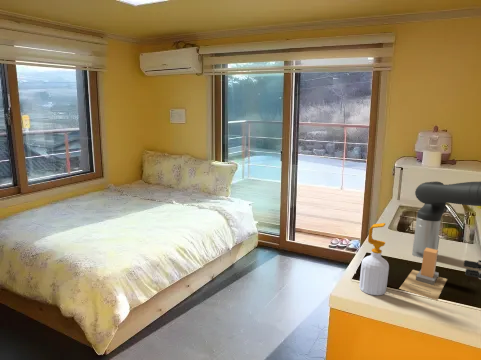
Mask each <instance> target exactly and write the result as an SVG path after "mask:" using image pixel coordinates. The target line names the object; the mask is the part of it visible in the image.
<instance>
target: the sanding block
mask: <svg viewBox="0 0 481 360" xmlns="http://www.w3.org/2000/svg"><path fill="white" fill-rule="evenodd" d="M438 253H439V249H438V250H435V249H431V248H426V249H425V250H424V254H423V258H422V260H421V261H422V263H421V269H420V270H418V271H419V273H418V274H417V276H416V280H417V281H420V282H424V283H427V284H431V285H434V284H435V282H436V280H437V278H438V277H439V272H437V271H436V269H437V268H436V266H437V261H438V260H437V259H438V256H439V255H438Z"/></svg>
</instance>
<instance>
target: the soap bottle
mask: <svg viewBox="0 0 481 360" xmlns="http://www.w3.org/2000/svg"><path fill="white" fill-rule="evenodd" d="M385 226H386V223H385V222H380V223H374V224H372V225H371V226H370V228H369V230H368V238H367V242H368V243H369V244H370V245H373V247H374V248H372V249H371V252H370V255H367V256H365V257H363V258H362V260H361V266H360V276H359V286H358V287H359V290H361V291H362V292H364V293H365V294H368V295H371V296H382V295H385V294H386V293H387V286H388V277H389V272H390V271H389V270H390V265H389V262H388V261H387V260H386V259H385V258H383V257H382V252H383V251H382V249H380V248H381V247H384V246H385V245H386V242H385V241H382V240H377V239H374V238H373V229H376V228H377V229H378V228H384V227H385Z"/></svg>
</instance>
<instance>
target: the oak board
mask: <svg viewBox="0 0 481 360" xmlns="http://www.w3.org/2000/svg"><path fill="white" fill-rule="evenodd" d="M419 271H420V270H415V269H412V270H411V272H410V273H409V274H408V275H407V277H406V278H405V280H404V282H403V283H402V284H401V285H400V287H399V288H398V289H399V290H402V291H404V292H405V291H406V292H409V293H412V294H416V295H419V296H420V297H421V296H422V297H425V298H428V299H430V300H435V301H438V299H439V297H440V295H441V293H442V291H443V290H444V286H445V285H446V283H447V281H448V278H445V277H441V276H438V278H437V280H436V282H435V284H434V285H431V284H427V283H424V282H420V281H417V280H416V276H417V274H418V273H419Z"/></svg>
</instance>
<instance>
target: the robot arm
mask: <svg viewBox="0 0 481 360" xmlns="http://www.w3.org/2000/svg"><path fill="white" fill-rule="evenodd" d="M414 195H415V198H416V199H417V200H418V201H419V202H420V203H422V204H424V205H422V207H421V208H420V209H418V210H417V212H416V213H417V215H416V221H415V229H414V235H413V236H414V237H413V244H412V251H411V253H412V256H414V257H417V258H421V259H423V254H424V250H425V249H426V248H431V249H435V250H438V251H439V243H440V235H439V233H440V227H441V221H442V216H443V215H444V212H445V209H446V204H455V205H463V206H474V207H481V181H465V182H457V183H450V184H444V183H443V182H440V181H426V182H423V183H421V184H419V185H418V186H417V187H416V188H415V192H414ZM463 267H467V268H466V269H465V276H467V277H471V278H472V277H473V278H477V279H479V280H481V259H478V260H477V261H471V260H463ZM471 268H472V269H471Z"/></svg>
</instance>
